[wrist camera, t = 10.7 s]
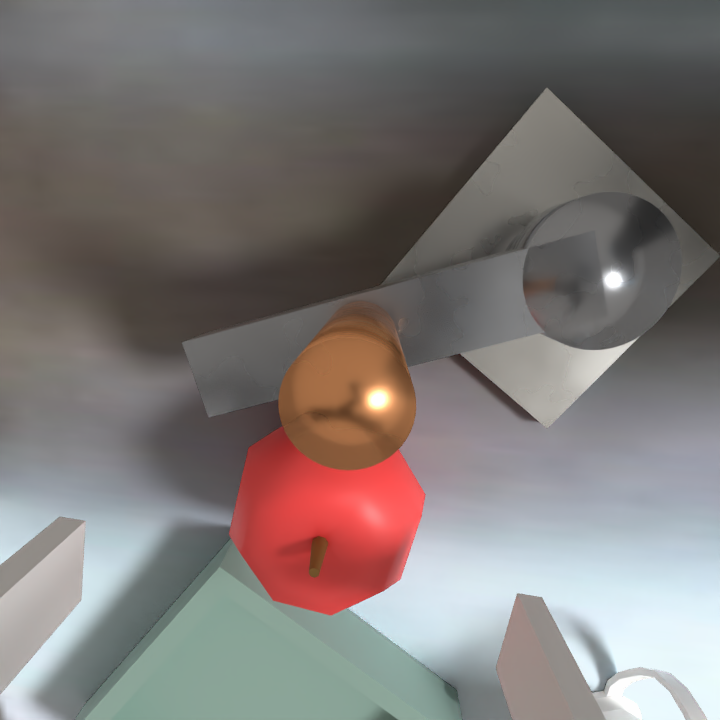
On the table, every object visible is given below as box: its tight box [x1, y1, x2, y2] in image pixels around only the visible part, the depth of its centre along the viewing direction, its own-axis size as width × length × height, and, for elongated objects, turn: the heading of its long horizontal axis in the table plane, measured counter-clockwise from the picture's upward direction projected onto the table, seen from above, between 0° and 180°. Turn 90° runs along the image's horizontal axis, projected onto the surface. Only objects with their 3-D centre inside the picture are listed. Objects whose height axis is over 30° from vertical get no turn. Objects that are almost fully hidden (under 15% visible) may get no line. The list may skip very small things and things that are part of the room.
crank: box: [182, 192, 682, 470], centre depth 12 cm, size 16×5×10 cm, turn 105°
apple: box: [229, 426, 425, 616], centre depth 18 cm, size 8×8×8 cm
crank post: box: [380, 88, 720, 428], centre depth 18 cm, size 10×10×3 cm
